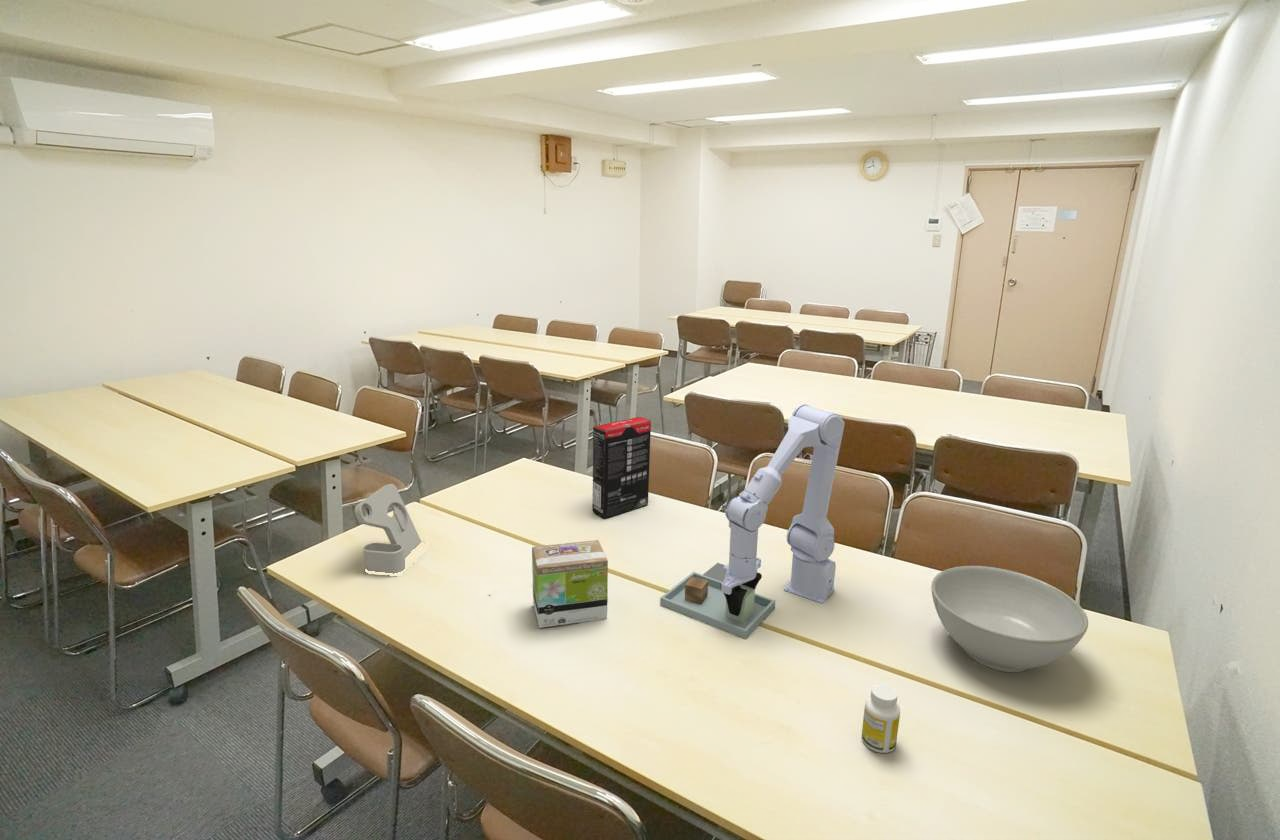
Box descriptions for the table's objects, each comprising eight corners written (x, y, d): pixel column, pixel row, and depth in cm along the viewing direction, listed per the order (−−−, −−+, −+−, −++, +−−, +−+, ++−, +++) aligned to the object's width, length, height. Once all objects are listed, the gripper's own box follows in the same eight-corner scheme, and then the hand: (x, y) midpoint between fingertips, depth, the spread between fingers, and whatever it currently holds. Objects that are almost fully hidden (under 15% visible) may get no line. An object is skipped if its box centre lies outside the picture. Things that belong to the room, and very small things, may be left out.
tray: (774, 608, 145) (775, 600, 144) (745, 639, 134) (746, 631, 133) (693, 579, 157) (693, 571, 156) (660, 605, 146) (660, 597, 145)
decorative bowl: (895, 629, 138) (902, 578, 135) (990, 604, 147) (999, 556, 144) (1003, 714, 114) (1015, 655, 110) (1109, 679, 123) (1123, 623, 120)
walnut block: (707, 596, 149) (708, 580, 148) (701, 604, 146) (701, 588, 145) (691, 591, 151) (691, 576, 150) (684, 600, 148) (685, 584, 146)
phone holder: (399, 578, 156) (392, 509, 151) (360, 574, 158) (351, 506, 153) (432, 544, 173) (426, 481, 168) (397, 541, 174) (390, 479, 169)
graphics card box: (636, 498, 203) (637, 414, 195) (651, 505, 198) (652, 419, 190) (591, 512, 193) (590, 424, 185) (605, 520, 188) (605, 430, 180)
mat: (749, 574, 159) (750, 573, 159) (732, 590, 152) (732, 589, 152) (717, 564, 164) (717, 562, 164) (699, 578, 157) (699, 577, 157)
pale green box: (753, 613, 143) (755, 588, 141) (743, 623, 139) (745, 597, 138) (735, 606, 145) (736, 582, 144) (725, 615, 142) (726, 591, 140)
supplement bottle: (887, 729, 110) (894, 680, 108) (901, 754, 105) (908, 703, 102) (856, 729, 110) (862, 680, 107) (868, 754, 105) (874, 703, 102)
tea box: (538, 630, 137) (535, 567, 132) (533, 605, 146) (530, 545, 142) (608, 620, 140) (608, 558, 136) (599, 595, 150) (598, 537, 145)
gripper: (741, 534, 146) (738, 588, 150) (709, 560, 135) (706, 617, 138) (771, 543, 142) (767, 598, 146) (739, 570, 131) (736, 629, 134)
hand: (739, 608), depth 142 cm, fingers closed on pale green box, 4 cm apart
